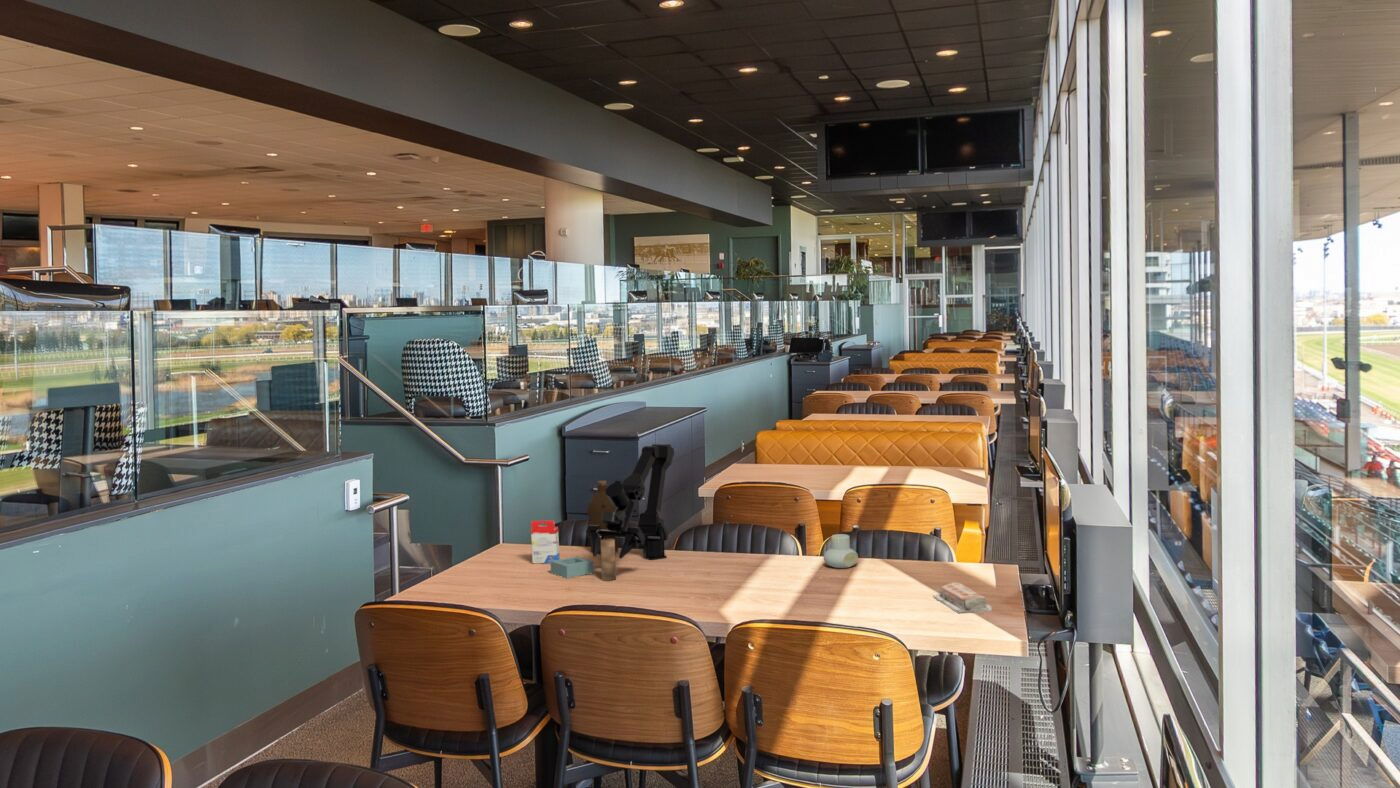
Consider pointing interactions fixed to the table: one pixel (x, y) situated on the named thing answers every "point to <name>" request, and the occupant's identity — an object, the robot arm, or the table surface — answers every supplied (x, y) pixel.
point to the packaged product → (962, 599)
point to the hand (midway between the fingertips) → (607, 556)
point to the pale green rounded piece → (840, 552)
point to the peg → (608, 559)
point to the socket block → (572, 567)
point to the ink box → (544, 542)
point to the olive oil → (600, 510)
